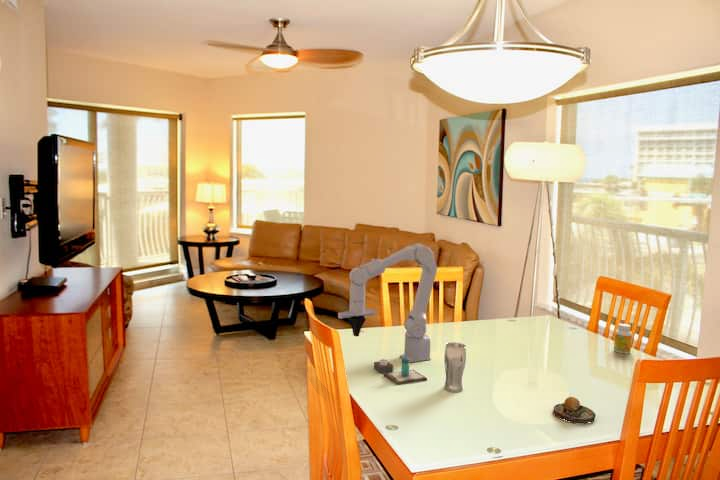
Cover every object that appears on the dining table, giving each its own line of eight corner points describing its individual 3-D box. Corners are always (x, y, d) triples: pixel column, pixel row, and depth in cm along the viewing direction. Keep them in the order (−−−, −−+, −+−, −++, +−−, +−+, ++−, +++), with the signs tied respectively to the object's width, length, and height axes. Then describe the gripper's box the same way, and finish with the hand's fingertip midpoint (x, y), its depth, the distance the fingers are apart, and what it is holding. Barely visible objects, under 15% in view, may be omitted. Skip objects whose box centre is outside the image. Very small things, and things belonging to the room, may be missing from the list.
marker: (406, 373, 204) (406, 356, 203) (410, 375, 201) (410, 359, 201) (399, 374, 202) (399, 358, 202) (404, 377, 200) (404, 360, 199)
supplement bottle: (614, 352, 241) (616, 325, 240) (613, 348, 247) (616, 322, 246) (630, 354, 239) (633, 327, 238) (629, 350, 245) (632, 324, 243)
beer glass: (451, 394, 189) (453, 349, 187) (438, 386, 195) (440, 343, 193) (468, 391, 192) (470, 347, 190) (455, 384, 198) (457, 341, 196)
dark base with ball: (603, 423, 171) (605, 399, 170) (566, 426, 169) (568, 401, 168) (579, 407, 183) (581, 384, 182) (545, 409, 180) (547, 386, 179)
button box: (386, 367, 212) (386, 360, 212) (392, 371, 208) (393, 364, 208) (373, 369, 210) (374, 362, 210) (380, 373, 206) (380, 366, 205)
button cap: (384, 367, 211) (385, 358, 210) (388, 369, 208) (389, 361, 208) (378, 368, 210) (378, 359, 209) (381, 370, 207) (382, 362, 207)
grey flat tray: (413, 371, 209) (413, 368, 209) (426, 380, 201) (427, 376, 201) (383, 376, 203) (383, 372, 203) (396, 384, 195) (396, 380, 195)
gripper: (369, 296, 223) (368, 331, 225) (335, 299, 217) (334, 334, 219) (378, 300, 217) (376, 336, 219) (343, 303, 211) (341, 339, 212)
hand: (356, 335), depth 218 cm, fingers closed
